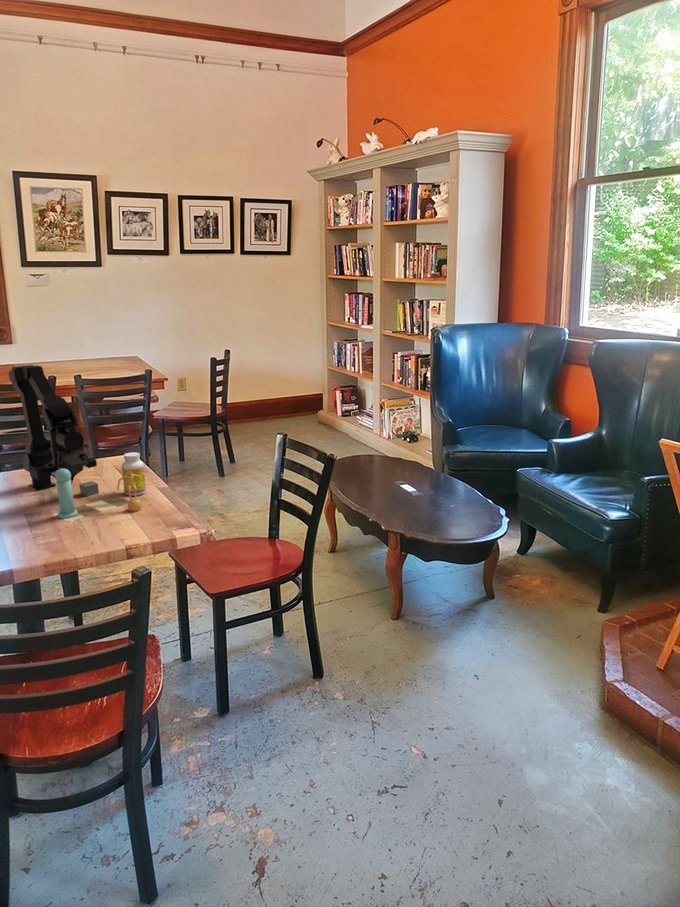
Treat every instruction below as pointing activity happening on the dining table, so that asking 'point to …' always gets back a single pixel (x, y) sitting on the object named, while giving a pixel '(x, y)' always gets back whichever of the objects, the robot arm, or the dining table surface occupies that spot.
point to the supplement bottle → (135, 468)
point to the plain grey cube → (89, 488)
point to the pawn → (65, 494)
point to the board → (97, 507)
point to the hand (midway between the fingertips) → (67, 493)
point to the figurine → (133, 503)
